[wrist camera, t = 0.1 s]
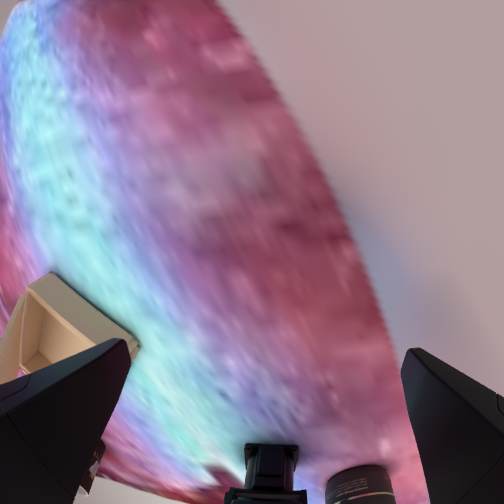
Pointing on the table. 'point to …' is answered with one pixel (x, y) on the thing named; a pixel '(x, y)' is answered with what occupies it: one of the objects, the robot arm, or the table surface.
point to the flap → (11, 344)
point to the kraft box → (62, 325)
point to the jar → (360, 487)
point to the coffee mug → (91, 470)
